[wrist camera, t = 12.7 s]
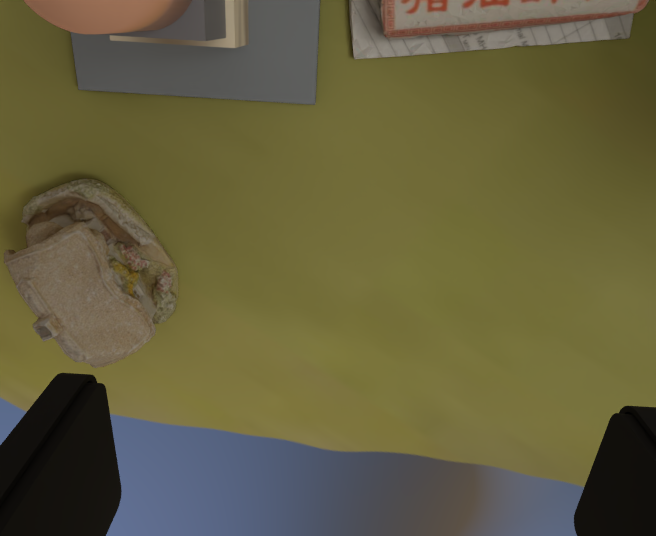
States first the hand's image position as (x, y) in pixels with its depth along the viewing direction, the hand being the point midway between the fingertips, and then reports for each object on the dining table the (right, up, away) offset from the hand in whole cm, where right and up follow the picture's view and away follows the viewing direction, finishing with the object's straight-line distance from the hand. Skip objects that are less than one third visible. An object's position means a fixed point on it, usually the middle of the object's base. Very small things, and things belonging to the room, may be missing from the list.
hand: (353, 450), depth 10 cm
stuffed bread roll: (-19, +4, +33) cm, 38 cm away
